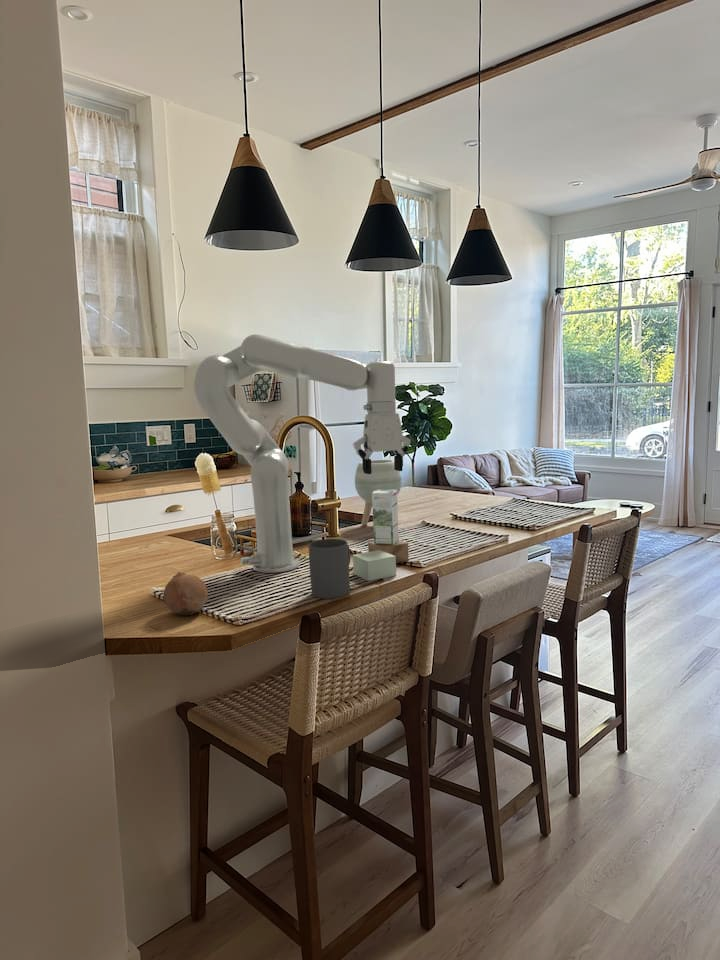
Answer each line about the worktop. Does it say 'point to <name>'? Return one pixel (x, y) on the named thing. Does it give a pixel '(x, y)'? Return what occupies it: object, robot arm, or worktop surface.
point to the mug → (329, 568)
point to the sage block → (374, 565)
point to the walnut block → (392, 550)
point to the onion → (185, 594)
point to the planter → (376, 482)
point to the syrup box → (385, 517)
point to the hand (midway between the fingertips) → (383, 472)
